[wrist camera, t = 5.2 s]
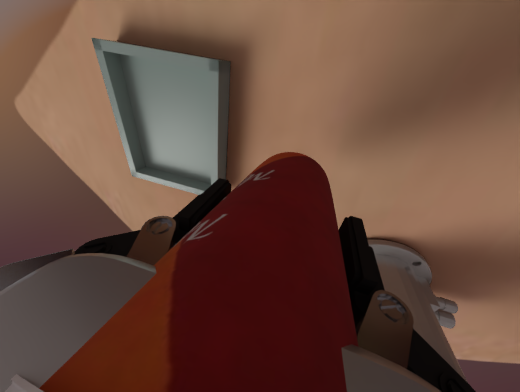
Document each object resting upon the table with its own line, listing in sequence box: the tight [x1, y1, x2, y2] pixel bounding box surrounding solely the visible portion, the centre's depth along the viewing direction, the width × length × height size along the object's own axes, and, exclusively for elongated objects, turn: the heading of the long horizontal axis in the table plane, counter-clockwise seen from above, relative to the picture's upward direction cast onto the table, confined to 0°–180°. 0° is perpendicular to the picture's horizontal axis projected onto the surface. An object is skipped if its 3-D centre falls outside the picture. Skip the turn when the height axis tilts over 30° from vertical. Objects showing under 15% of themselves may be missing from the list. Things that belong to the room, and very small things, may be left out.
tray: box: [92, 38, 230, 195], centre depth 21 cm, size 12×14×2 cm
